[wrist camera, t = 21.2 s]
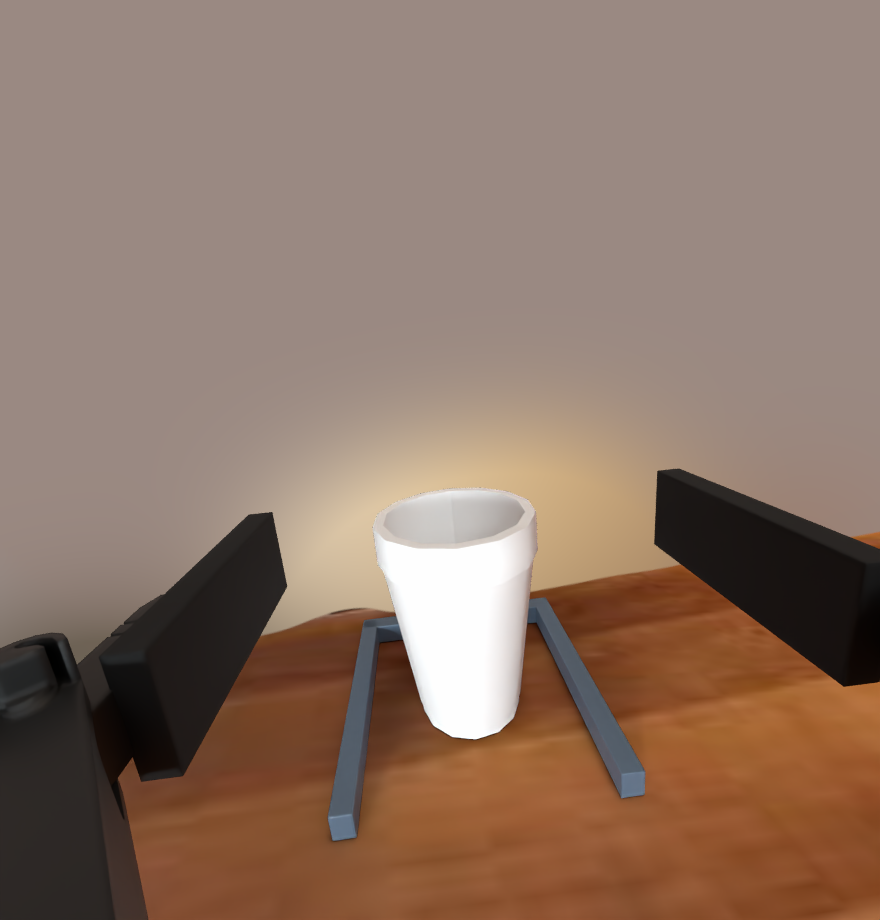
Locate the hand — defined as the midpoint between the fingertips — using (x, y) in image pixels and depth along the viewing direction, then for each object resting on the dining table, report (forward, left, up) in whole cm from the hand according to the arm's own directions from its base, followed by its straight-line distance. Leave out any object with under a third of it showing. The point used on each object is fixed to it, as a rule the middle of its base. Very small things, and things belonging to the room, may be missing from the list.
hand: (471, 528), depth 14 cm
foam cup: (-7, +7, -16) cm, 19 cm away
